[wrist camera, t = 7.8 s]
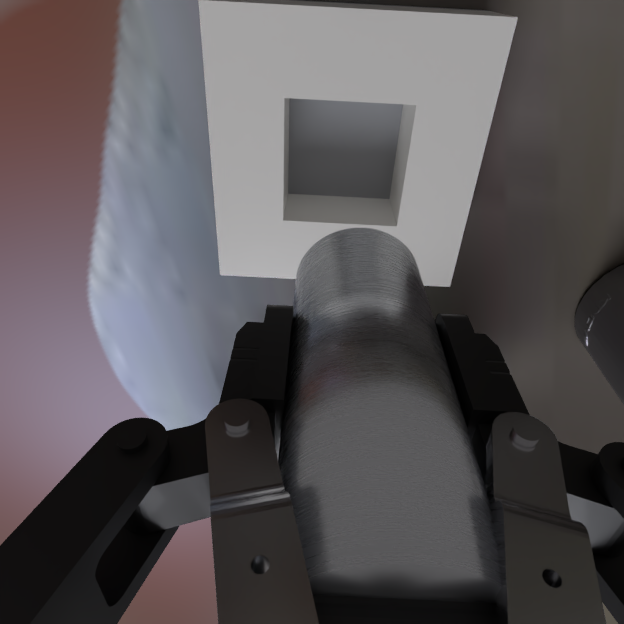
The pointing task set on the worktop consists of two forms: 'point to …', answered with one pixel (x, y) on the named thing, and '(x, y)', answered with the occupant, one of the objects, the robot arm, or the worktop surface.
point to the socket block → (346, 125)
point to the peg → (380, 434)
